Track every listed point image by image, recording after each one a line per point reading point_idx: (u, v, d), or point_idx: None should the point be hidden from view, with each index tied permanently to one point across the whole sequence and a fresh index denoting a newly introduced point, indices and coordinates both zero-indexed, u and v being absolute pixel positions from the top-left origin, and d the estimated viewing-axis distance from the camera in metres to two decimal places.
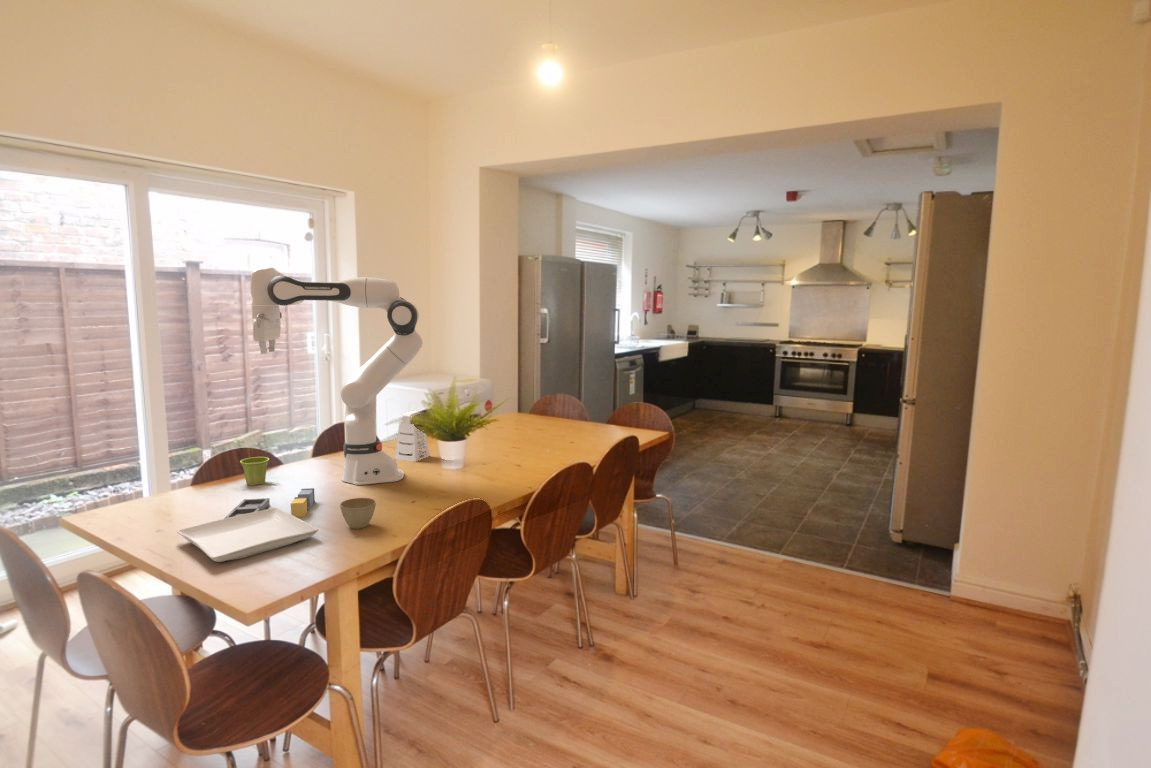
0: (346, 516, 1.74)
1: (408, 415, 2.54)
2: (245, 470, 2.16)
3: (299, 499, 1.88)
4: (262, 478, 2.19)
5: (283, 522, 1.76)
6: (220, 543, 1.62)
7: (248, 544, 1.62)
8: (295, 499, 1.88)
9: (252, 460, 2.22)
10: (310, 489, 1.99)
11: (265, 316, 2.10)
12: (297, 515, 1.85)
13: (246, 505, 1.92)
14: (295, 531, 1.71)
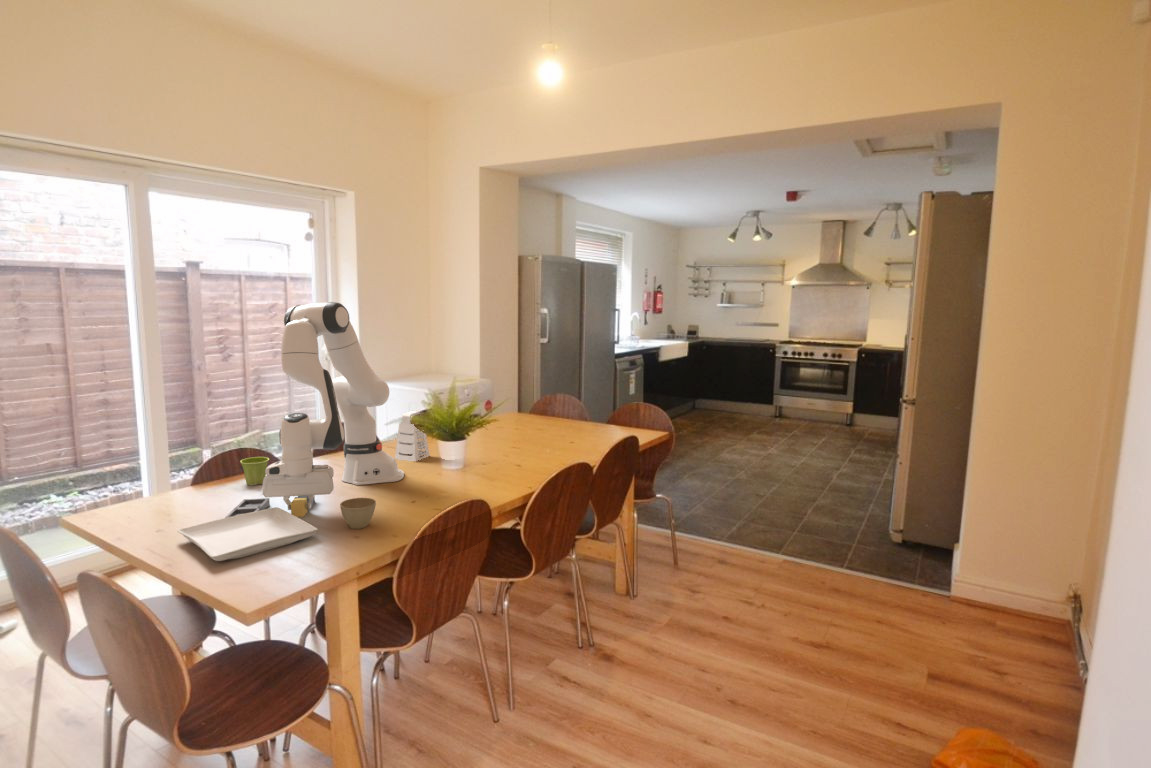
0: (346, 516, 1.74)
1: (408, 415, 2.54)
2: (245, 470, 2.16)
3: (299, 499, 1.88)
4: (262, 478, 2.19)
5: (283, 522, 1.77)
6: (220, 542, 1.63)
7: (248, 543, 1.62)
8: (295, 499, 1.88)
9: (252, 460, 2.22)
10: None
11: None
12: (297, 515, 1.85)
13: (246, 505, 1.92)
14: (295, 531, 1.71)
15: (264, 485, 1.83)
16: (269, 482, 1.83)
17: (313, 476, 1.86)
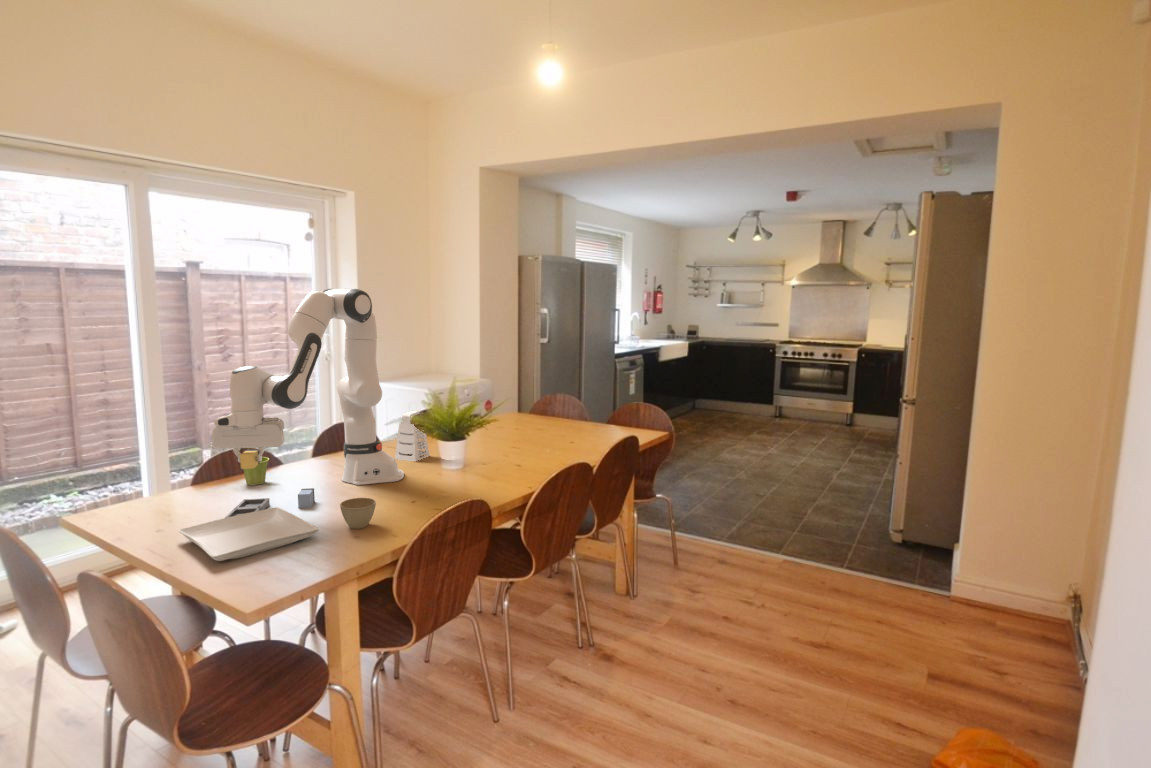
0: (346, 516, 1.74)
1: (408, 415, 2.54)
2: (245, 470, 2.16)
3: (249, 451, 1.90)
4: (262, 478, 2.19)
5: (284, 521, 1.77)
6: (221, 542, 1.63)
7: (249, 543, 1.62)
8: (245, 451, 1.90)
9: None
10: (310, 489, 1.99)
11: None
12: (247, 466, 1.87)
13: (246, 505, 1.92)
14: (296, 530, 1.71)
15: (213, 436, 1.84)
16: (219, 433, 1.85)
17: (263, 428, 1.87)
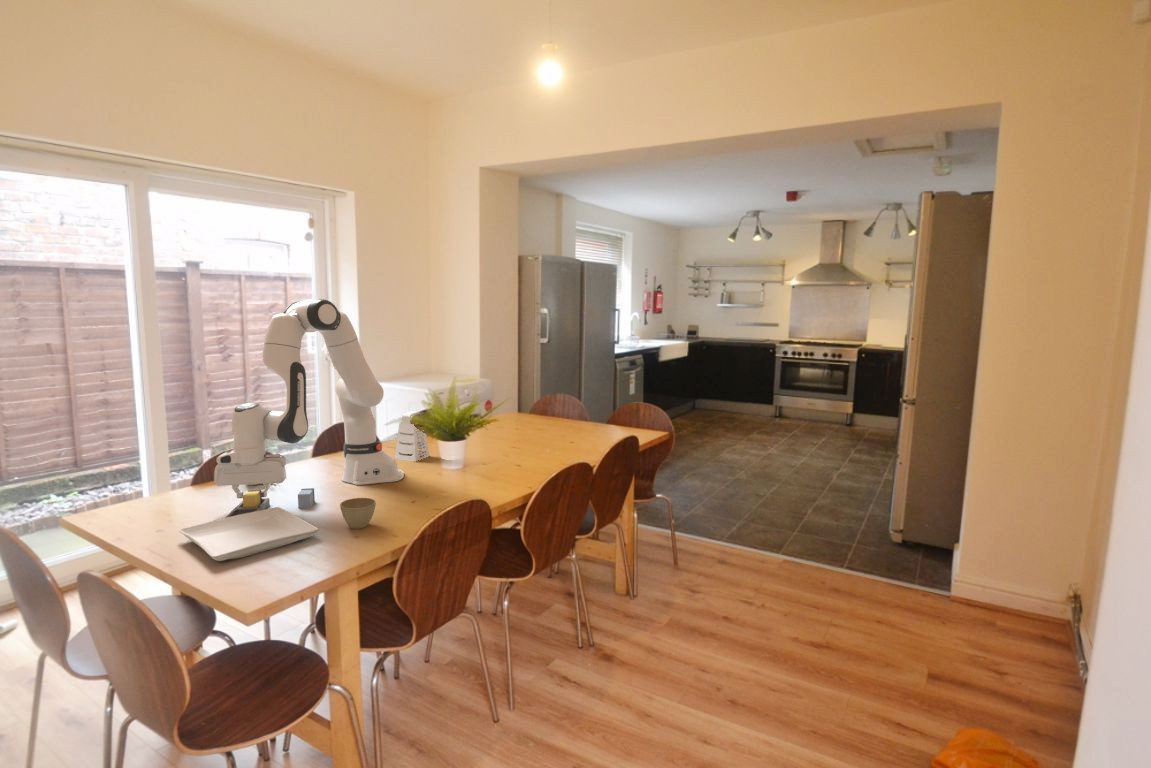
0: (346, 516, 1.74)
1: (408, 415, 2.54)
2: None
3: (252, 492, 1.91)
4: None
5: (284, 521, 1.77)
6: (221, 542, 1.63)
7: (249, 543, 1.62)
8: (248, 492, 1.91)
9: None
10: (310, 489, 1.99)
11: None
12: None
13: None
14: (296, 530, 1.71)
15: (216, 474, 1.86)
16: (221, 470, 1.86)
17: (265, 465, 1.89)
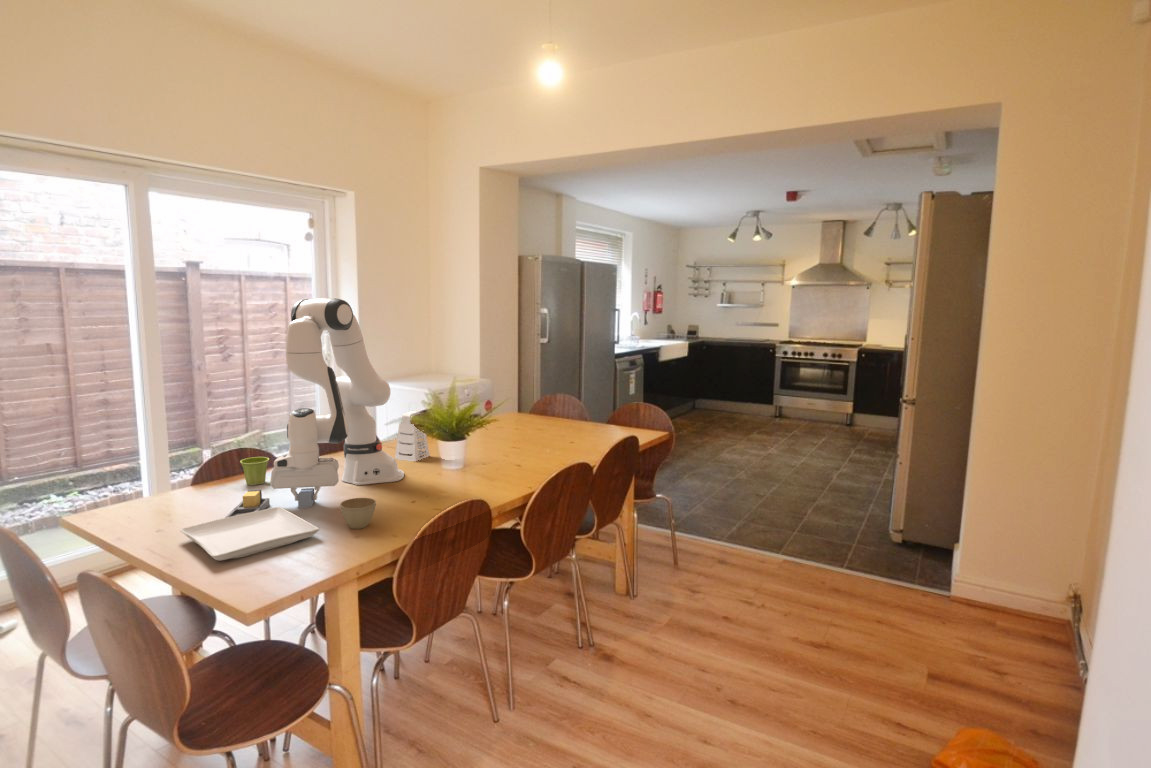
0: (347, 516, 1.74)
1: (408, 415, 2.54)
2: (245, 470, 2.16)
3: (252, 492, 1.91)
4: (262, 478, 2.19)
5: (285, 521, 1.77)
6: (222, 542, 1.63)
7: (249, 543, 1.63)
8: (248, 492, 1.91)
9: (251, 460, 2.22)
10: (310, 489, 1.99)
11: None
12: None
13: None
14: (296, 530, 1.71)
15: (272, 477, 1.92)
16: (277, 474, 1.92)
17: (319, 469, 1.95)
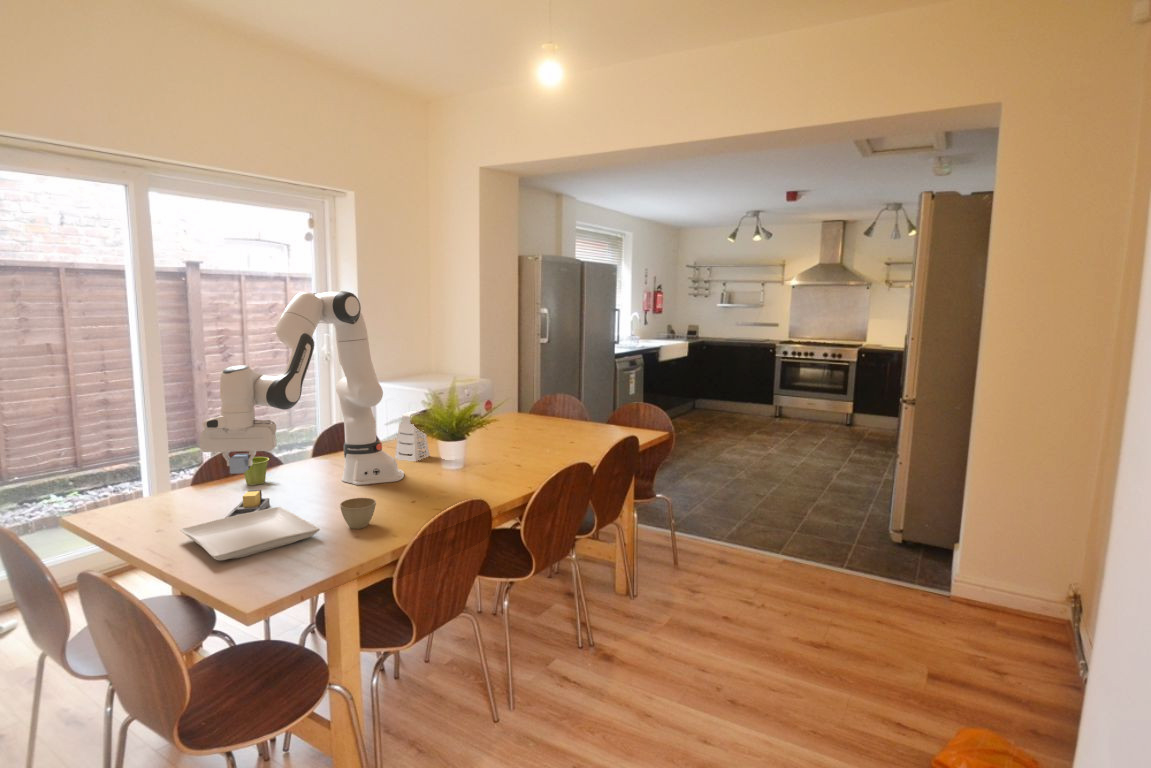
0: (346, 516, 1.74)
1: (408, 415, 2.54)
2: None
3: (252, 492, 1.91)
4: (262, 478, 2.19)
5: (285, 521, 1.77)
6: (222, 542, 1.63)
7: (250, 543, 1.63)
8: (248, 492, 1.91)
9: (252, 460, 2.22)
10: (245, 454, 1.82)
11: None
12: None
13: None
14: (297, 530, 1.71)
15: (202, 439, 1.75)
16: (207, 435, 1.76)
17: (254, 431, 1.78)
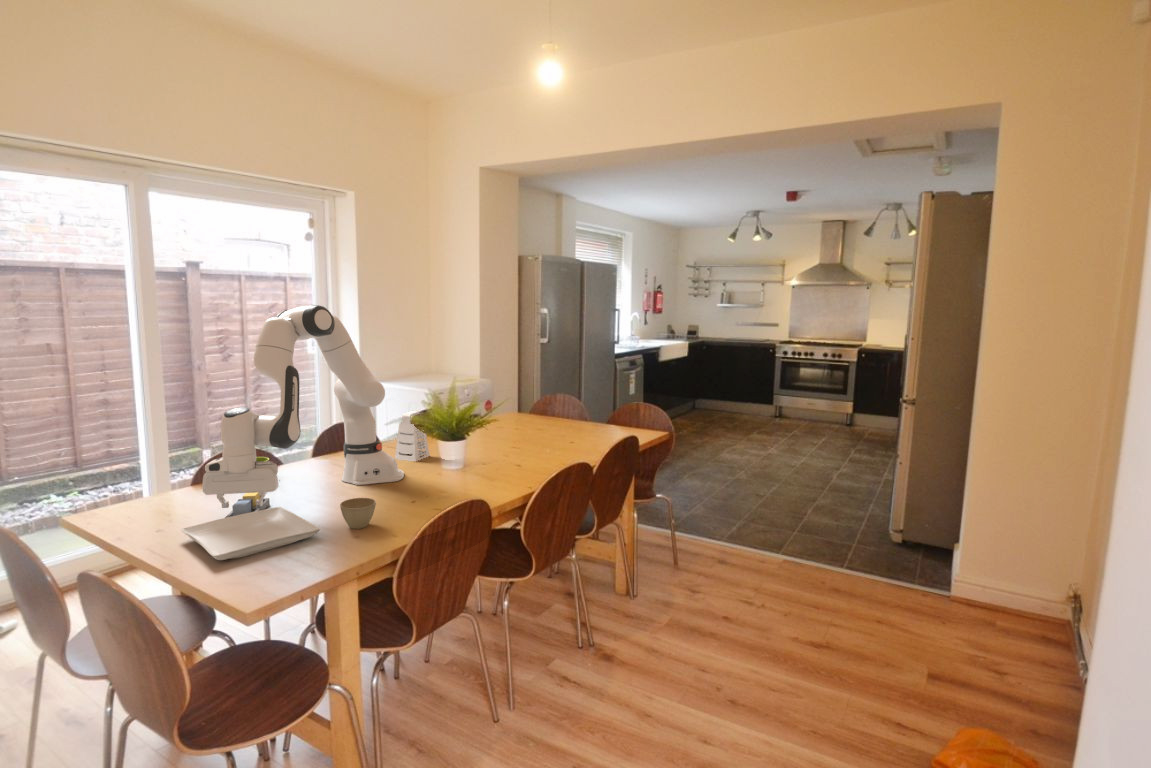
0: (346, 516, 1.74)
1: (408, 415, 2.54)
2: None
3: None
4: None
5: (286, 521, 1.77)
6: (223, 541, 1.63)
7: (250, 543, 1.63)
8: None
9: None
10: (248, 499, 1.84)
11: None
12: None
13: None
14: (297, 530, 1.71)
15: (204, 482, 1.77)
16: (210, 478, 1.77)
17: (256, 473, 1.80)
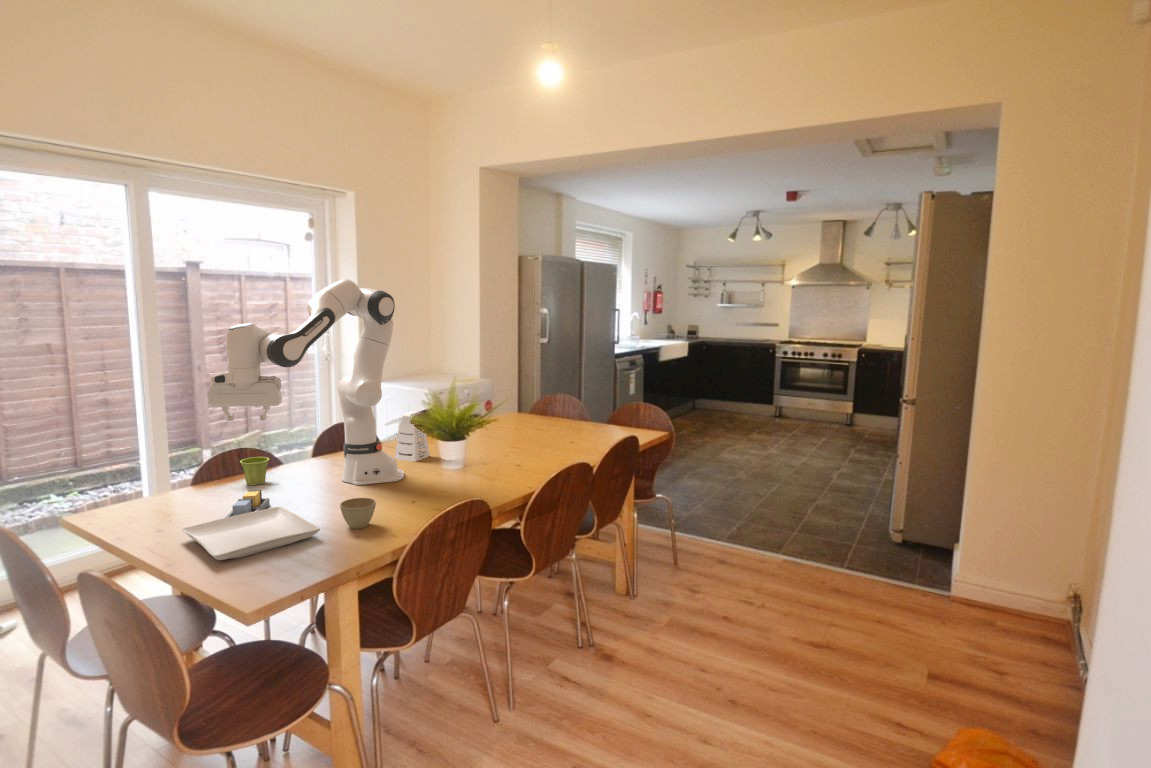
0: (346, 516, 1.74)
1: (408, 415, 2.54)
2: (245, 470, 2.16)
3: (252, 492, 1.91)
4: (262, 478, 2.19)
5: (286, 521, 1.77)
6: (223, 541, 1.63)
7: (251, 543, 1.63)
8: (248, 492, 1.91)
9: (252, 460, 2.22)
10: (248, 499, 1.84)
11: None
12: None
13: None
14: (298, 530, 1.71)
15: (210, 394, 1.82)
16: (215, 391, 1.83)
17: (260, 387, 1.85)
